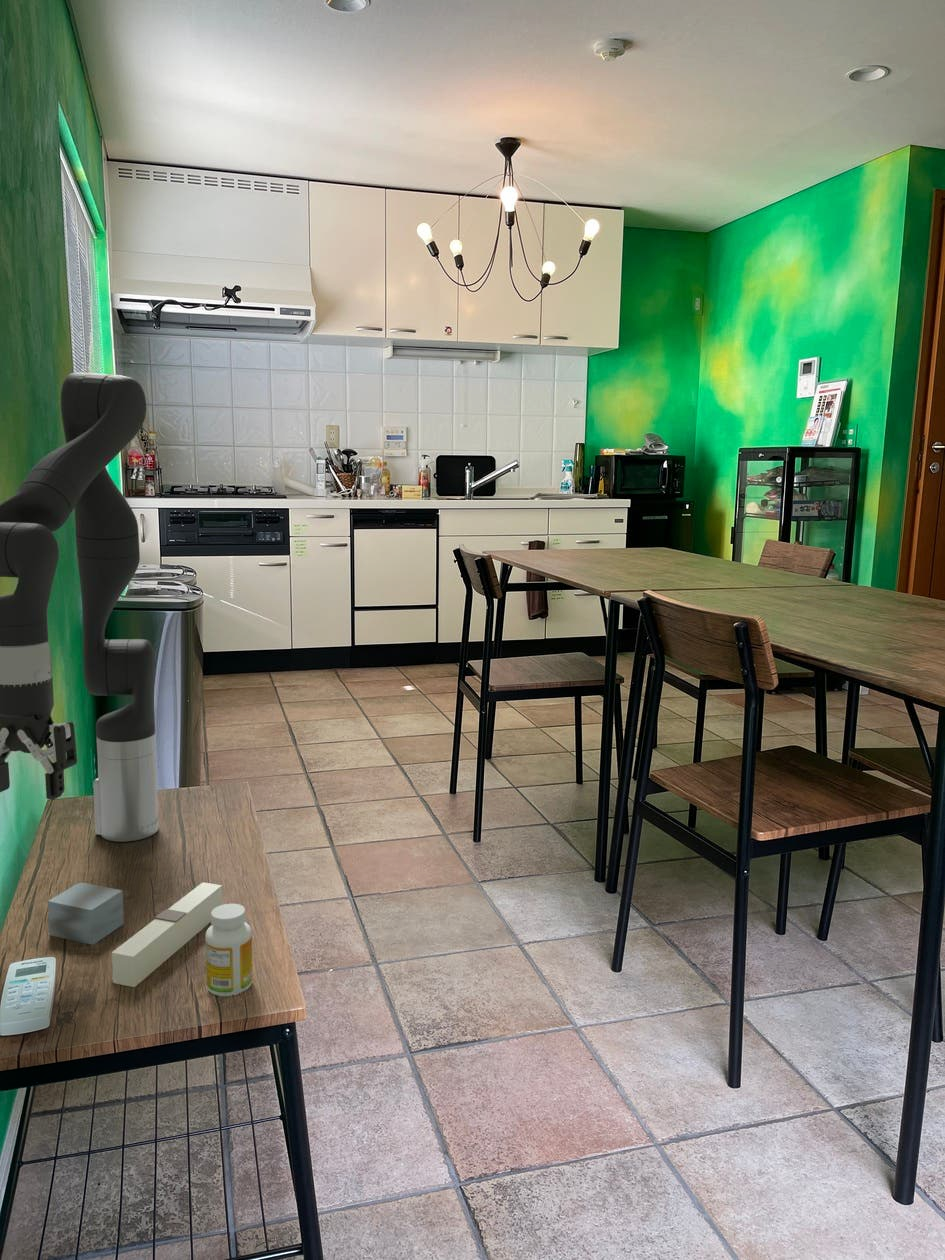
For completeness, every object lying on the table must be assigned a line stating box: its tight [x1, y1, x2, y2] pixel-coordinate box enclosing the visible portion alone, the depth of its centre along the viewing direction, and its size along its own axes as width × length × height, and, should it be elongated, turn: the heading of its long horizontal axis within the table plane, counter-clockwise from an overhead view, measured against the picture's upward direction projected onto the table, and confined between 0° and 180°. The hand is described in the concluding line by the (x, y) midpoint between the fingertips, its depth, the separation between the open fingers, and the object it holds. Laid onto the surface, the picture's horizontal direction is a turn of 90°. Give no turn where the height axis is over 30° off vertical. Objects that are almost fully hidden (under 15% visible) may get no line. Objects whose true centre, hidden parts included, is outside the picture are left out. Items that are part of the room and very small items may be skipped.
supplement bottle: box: [205, 903, 253, 997], centre depth 110 cm, size 5×5×10 cm
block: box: [47, 882, 125, 945], centre depth 123 cm, size 7×6×5 cm
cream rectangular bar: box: [111, 882, 223, 988], centre depth 120 cm, size 3×20×4 cm, turn 164°
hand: (27, 794), depth 122 cm, fingers open, 8 cm apart
